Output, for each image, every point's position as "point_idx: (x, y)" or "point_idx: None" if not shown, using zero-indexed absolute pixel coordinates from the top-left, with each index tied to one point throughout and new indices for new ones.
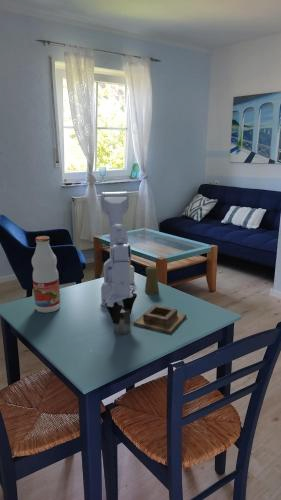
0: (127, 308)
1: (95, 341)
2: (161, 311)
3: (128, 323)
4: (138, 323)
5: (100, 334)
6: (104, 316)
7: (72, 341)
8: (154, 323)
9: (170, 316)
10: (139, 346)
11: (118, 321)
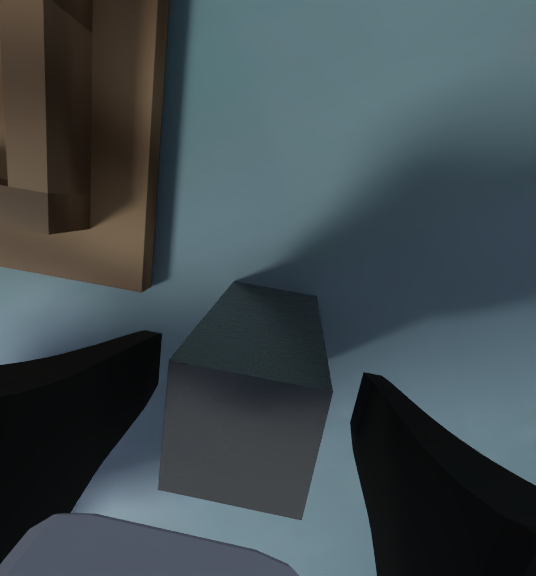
0: (174, 391)
1: None
2: None
3: (246, 306)
4: (144, 251)
5: (344, 439)
6: (124, 486)
7: None
8: (92, 122)
9: None
10: (444, 133)
11: (396, 388)
